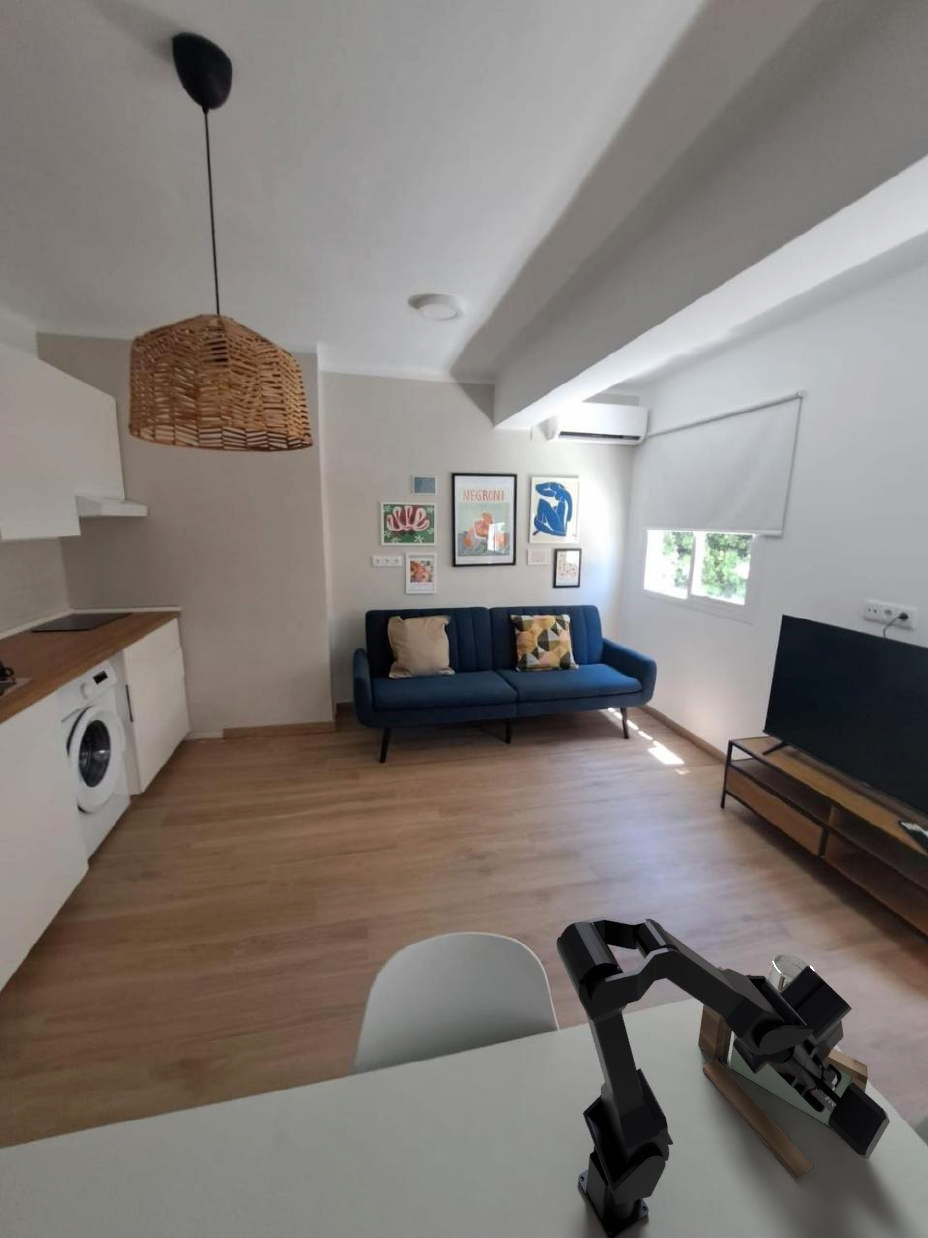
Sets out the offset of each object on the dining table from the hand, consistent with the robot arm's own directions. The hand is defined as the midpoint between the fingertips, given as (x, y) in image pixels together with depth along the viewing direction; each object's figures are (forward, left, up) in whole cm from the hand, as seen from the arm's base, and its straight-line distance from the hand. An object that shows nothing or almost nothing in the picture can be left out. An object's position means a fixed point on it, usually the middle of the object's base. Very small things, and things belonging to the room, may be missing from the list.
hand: (817, 1081), depth 72 cm
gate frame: (-6, +5, -7) cm, 11 cm away
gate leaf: (0, +3, -7) cm, 7 cm away
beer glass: (+7, +9, -7) cm, 14 cm away
